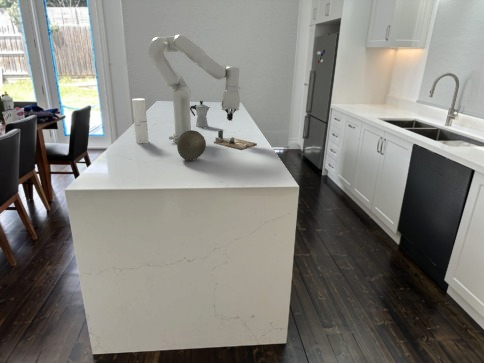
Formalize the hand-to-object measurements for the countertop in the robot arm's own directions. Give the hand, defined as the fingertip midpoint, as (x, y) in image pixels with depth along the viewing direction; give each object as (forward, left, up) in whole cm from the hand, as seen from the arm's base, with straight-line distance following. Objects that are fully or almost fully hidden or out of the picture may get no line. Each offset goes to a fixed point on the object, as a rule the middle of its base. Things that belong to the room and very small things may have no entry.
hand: (229, 120), depth 204 cm
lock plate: (-2, -7, -13) cm, 15 cm away
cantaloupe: (-41, -11, -13) cm, 44 cm away
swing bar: (-5, -2, -12) cm, 13 cm away
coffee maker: (+16, +43, -13) cm, 48 cm away
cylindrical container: (-38, +36, -13) cm, 54 cm away
